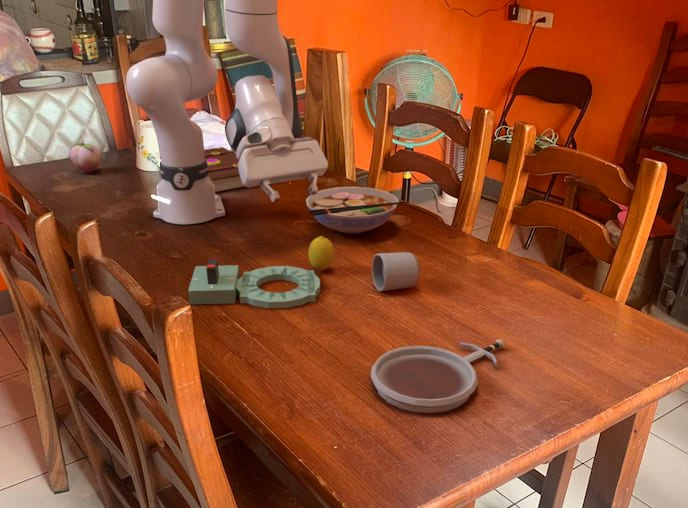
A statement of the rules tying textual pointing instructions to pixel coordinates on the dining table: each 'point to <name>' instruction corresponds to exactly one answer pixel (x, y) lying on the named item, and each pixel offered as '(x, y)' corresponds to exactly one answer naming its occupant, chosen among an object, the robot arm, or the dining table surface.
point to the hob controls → (214, 286)
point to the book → (223, 169)
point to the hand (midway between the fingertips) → (295, 196)
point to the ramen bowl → (352, 208)
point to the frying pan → (428, 377)
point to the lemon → (321, 253)
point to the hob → (296, 297)
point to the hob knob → (212, 271)
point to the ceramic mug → (395, 271)
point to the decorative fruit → (85, 156)
